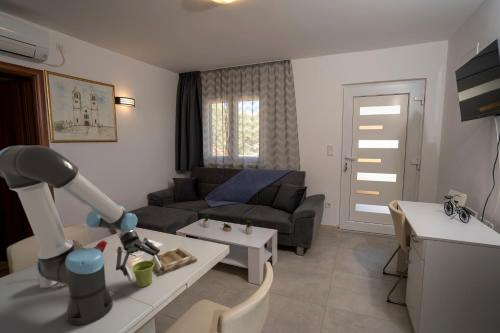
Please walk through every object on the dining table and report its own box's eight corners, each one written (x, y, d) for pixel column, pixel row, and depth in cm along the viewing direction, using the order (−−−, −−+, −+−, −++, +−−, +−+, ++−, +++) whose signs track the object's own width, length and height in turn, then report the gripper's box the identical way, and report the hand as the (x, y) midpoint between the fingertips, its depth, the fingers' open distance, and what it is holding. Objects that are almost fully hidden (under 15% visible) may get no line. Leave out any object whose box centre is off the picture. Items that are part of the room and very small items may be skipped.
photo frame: (163, 243, 158) (136, 255, 143) (163, 245, 158) (136, 257, 143) (149, 239, 166) (122, 249, 151) (149, 240, 166) (122, 251, 151)
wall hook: (60, 290, 111) (53, 268, 110) (42, 293, 113) (35, 272, 112) (76, 280, 118) (70, 260, 118) (59, 283, 121) (52, 263, 120)
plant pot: (145, 291, 109) (144, 272, 108) (128, 287, 112) (126, 269, 111) (160, 279, 118) (158, 261, 117) (143, 276, 121) (142, 259, 120)
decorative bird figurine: (109, 257, 143) (108, 240, 142) (71, 267, 132) (69, 249, 131) (108, 255, 145) (107, 238, 144) (71, 265, 134) (69, 247, 133)
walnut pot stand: (160, 275, 122) (159, 268, 122) (148, 263, 134) (147, 257, 134) (197, 261, 135) (196, 255, 135) (183, 251, 147) (183, 246, 147)
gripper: (149, 231, 133) (167, 266, 125) (97, 247, 114) (115, 291, 106) (154, 223, 129) (173, 259, 121) (101, 239, 110) (120, 283, 102)
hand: (146, 274), depth 114 cm, fingers open, 13 cm apart
